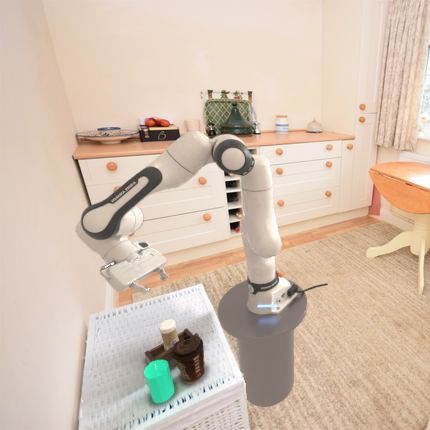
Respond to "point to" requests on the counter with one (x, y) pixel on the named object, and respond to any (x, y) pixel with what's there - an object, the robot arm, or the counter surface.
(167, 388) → the candle
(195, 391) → the counter surface
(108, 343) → the counter surface
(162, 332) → the sprinkles bottle
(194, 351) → the coffee cup
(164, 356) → the spice rack
